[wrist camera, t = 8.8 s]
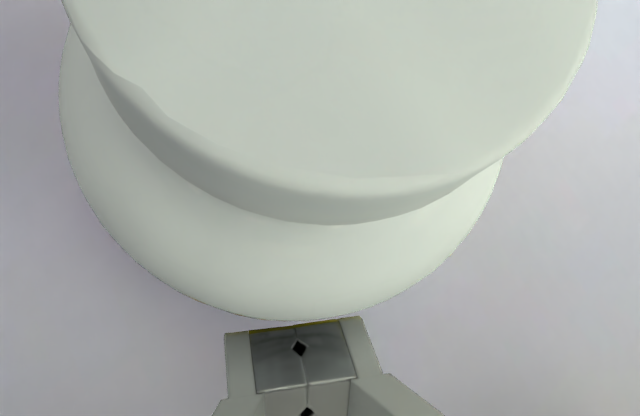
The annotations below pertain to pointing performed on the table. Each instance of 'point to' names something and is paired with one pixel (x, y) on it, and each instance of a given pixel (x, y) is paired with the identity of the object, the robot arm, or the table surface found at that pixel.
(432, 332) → the table surface
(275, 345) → the robot arm
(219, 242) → the supplement bottle
